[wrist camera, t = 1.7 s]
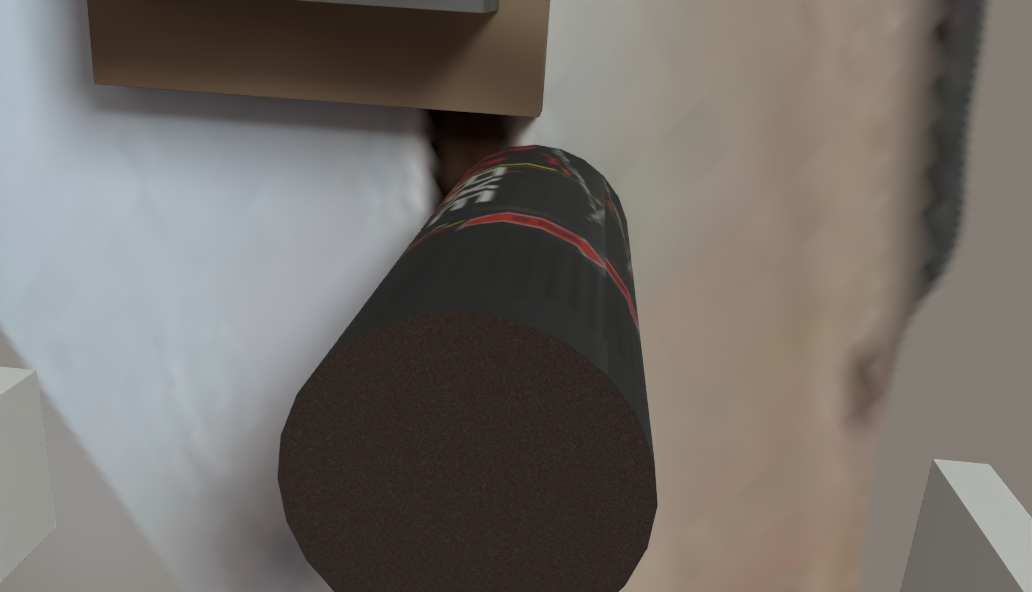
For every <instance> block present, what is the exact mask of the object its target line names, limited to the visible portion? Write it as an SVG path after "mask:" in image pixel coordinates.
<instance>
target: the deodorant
mask: <svg viewBox="0 0 1032 592" xmlns="http://www.w3.org/2000/svg"><path fill="white" fill-rule="evenodd" d="M278 482H279V487H280V491H281V496H282V501H283V506H284V511H285V515H286V520H287V523H288V525H289V527H290V529H291V530H292V532H293V534H294V536H295V538H296V540H297V542H298V544H299V546H300V548H301V550H302V552H303V554H304V556H305V558H306V560H307V561H308V562H309V563H310V565H311V566H312V567H313V568H314V569H315V570H316V571H317V573H318V574H319V575H320V576H321V577H322V578H323V579H324V580H325V582H326V583H327V584H328V585H329V586H330V587H331V588H332V590H333V591H334V592H619V591H620V590H621V589H622V588H623V587H624V586H625V585H626V583H627V581H628V580H629V578H630V576H631V575H632V573H633V571H634V570H635V568H636V566H637V565H638V563H639V561H640V559H641V558H642V556H643V554H644V553H645V551H646V549H647V547H648V543H649V539H650V535H651V530H652V526H653V522H654V518H655V514H656V509H657V492H656V477H655V463H654V453H653V445H652V436H651V427H650V419H649V410H648V402H647V393H646V384H645V376H644V367H643V358H642V350H641V341H640V332H639V324H638V315H637V306H636V298H635V289H634V280H633V272H632V263H631V254H630V246H629V237H628V228H627V220H626V217H625V215H624V212H623V209H622V206H621V203H620V200H619V198H618V196H617V195H616V193H615V192H614V190H613V189H612V187H611V186H610V184H609V183H608V182H607V180H606V179H605V177H604V176H603V175H602V174H600V173H599V172H598V171H597V170H596V169H594V168H593V167H592V166H591V165H590V164H588V163H587V162H586V161H585V160H583V159H581V158H579V157H576V156H574V155H572V154H570V153H568V152H566V151H563V150H561V149H556V148H550V147H545V146H539V145H530V146H519V147H510V148H507V149H504V150H502V151H499V152H496V153H494V154H491V155H488V156H486V157H485V158H483V159H482V160H481V161H479V162H478V163H477V164H475V165H474V166H472V167H471V168H470V169H468V170H467V171H466V172H465V173H464V175H463V176H462V177H461V178H460V180H459V181H458V182H457V183H456V185H455V186H454V187H453V188H452V190H451V191H450V192H449V194H448V195H447V196H446V198H445V199H444V200H443V202H442V203H441V204H440V206H439V207H438V208H437V209H436V211H435V212H434V213H433V215H432V216H431V217H430V219H429V220H428V221H427V223H426V224H425V225H424V227H423V228H422V229H421V231H420V232H419V233H418V235H417V236H416V237H415V239H414V240H413V241H412V243H411V244H410V245H409V247H408V248H407V249H406V251H405V252H404V253H403V255H402V256H401V257H400V258H399V260H398V261H397V262H396V264H395V265H394V266H393V268H392V269H391V270H390V272H389V273H388V274H387V276H386V277H385V278H384V280H383V281H382V282H381V284H380V285H379V286H378V288H377V289H376V290H375V292H374V293H373V294H372V296H371V297H370V298H369V300H368V301H367V302H366V303H365V305H364V306H363V307H362V309H361V310H360V311H359V313H358V314H357V315H356V317H355V318H354V319H353V321H352V322H351V323H350V325H349V326H348V327H347V329H346V330H345V331H344V333H343V334H342V335H341V337H340V338H339V339H338V341H337V342H336V343H335V345H334V346H333V347H332V349H331V350H330V351H329V352H328V354H327V355H326V356H325V358H324V359H323V360H322V362H321V363H320V364H319V366H318V367H317V368H316V370H315V371H314V372H313V374H312V375H311V376H310V378H309V379H308V380H307V382H306V383H305V384H304V386H303V387H302V388H301V390H300V391H299V392H298V394H297V396H296V398H295V401H294V403H293V406H292V408H291V411H290V413H289V416H288V418H287V421H286V424H285V426H284V429H283V431H282V434H281V441H280V453H279V467H278Z"/></svg>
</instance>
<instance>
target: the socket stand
mask: <svg viewBox="0 0 1032 592" xmlns="http://www.w3.org/2000/svg"><path fill="white" fill-rule="evenodd" d="M87 3H88V15H89V26H90V37H91V49H92V60H93V71H94V83H95V84H103V85H117V86H130V87H143V88H156V89H170V90H183V91H196V92H209V93H223V94H236V95H249V96H263V97H276V98H289V99H302V100H316V101H329V102H342V103H355V104H369V105H382V106H395V107H408V108H422V109H435V110H448V111H461V112H475V113H488V114H501V115H515V116H528V117H539V116H540V114H541V112H542V105H543V91H544V77H545V63H546V49H547V35H548V20H549V6H550V0H87Z"/></svg>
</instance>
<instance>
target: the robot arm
mask: <svg viewBox="0 0 1032 592" xmlns="http://www.w3.org/2000/svg"><path fill="white" fill-rule="evenodd" d="M56 527H57V526H56V518H55V510H54V503H53V495H52V487H51V480H50V472H49V464H48V457H47V449H46V441H45V434H44V426H43V418H42V411H41V403H40V396H39V388H38V380H37V373H36V370H27V369H17V368H7V367H0V583H1V582H2V581H3V580H4V579H5V578H6V577H7V576H8V575H9V574H10V573H11V572H12V571H13V570H14V569H15V568H16V567H17V566H18V565H19V564H20V563H21V562H22V561H23V560H24V559H25V558H26V557H27V556H28V555H29V554H30V553H31V552H32V551H33V550H34V549H35V548H36V547H37V546H38V545H39V544H40V543H41V542H42V541H43V540H44V539H45V538H46V537H47V536H48V535H49V534H50V533H51V532H52V531H53V530H54V529H55V528H56ZM900 592H1032V518H1031V517H1030V515H1029V514H1028V513H1027V512H1026V510H1025V509H1024V508H1023V507H1022V506H1021V504H1020V503H1019V501H1018V500H1017V499H1016V498H1015V496H1014V495H1013V494H1012V493H1011V491H1010V490H1009V489H1008V488H1007V486H1006V485H1005V484H1004V483H1003V481H1002V480H1001V479H1000V477H999V476H998V475H997V474H996V473H995V471H994V470H993V469H992V467H991V466H990V465H989V464H979V463H969V462H958V461H949V460H939V459H933V461H932V465H931V469H930V473H929V477H928V481H927V485H926V489H925V493H924V497H923V501H922V505H921V509H920V514H919V517H918V522H917V525H916V530H915V533H914V538H913V542H912V546H911V550H910V554H909V558H908V562H907V566H906V570H905V574H904V578H903V582H902V586H901V590H900Z"/></svg>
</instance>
